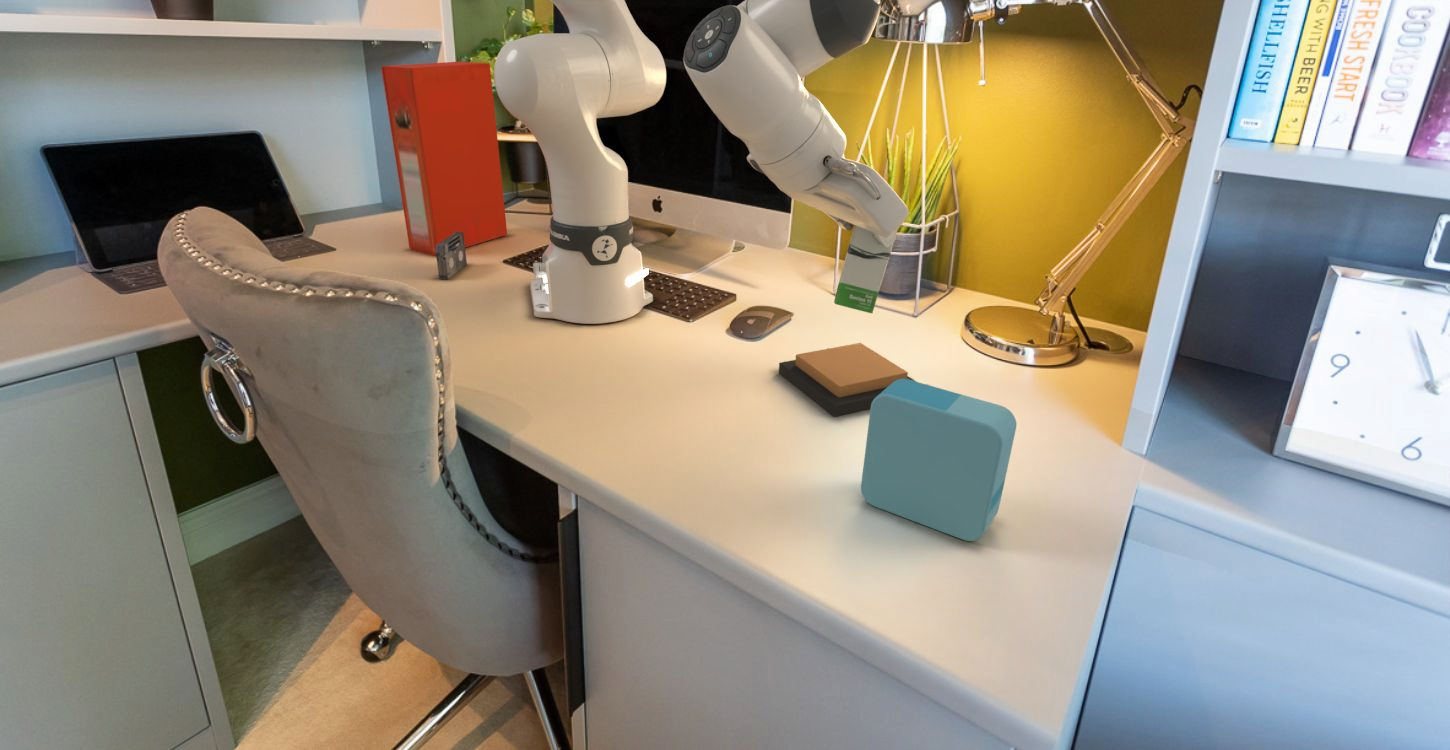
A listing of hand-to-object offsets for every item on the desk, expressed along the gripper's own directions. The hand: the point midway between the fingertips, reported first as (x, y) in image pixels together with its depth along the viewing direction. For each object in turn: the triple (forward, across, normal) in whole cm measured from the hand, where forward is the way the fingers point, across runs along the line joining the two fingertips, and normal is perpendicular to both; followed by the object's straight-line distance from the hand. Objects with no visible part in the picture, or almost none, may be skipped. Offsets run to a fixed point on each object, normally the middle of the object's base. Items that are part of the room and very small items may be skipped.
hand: (868, 233), depth 91 cm
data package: (+7, -26, +21) cm, 34 cm away
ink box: (+6, +1, +6) cm, 9 cm away
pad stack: (+13, 0, +14) cm, 20 cm away
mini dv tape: (-13, +64, +41) cm, 77 cm away
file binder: (-10, +82, +38) cm, 91 cm away
